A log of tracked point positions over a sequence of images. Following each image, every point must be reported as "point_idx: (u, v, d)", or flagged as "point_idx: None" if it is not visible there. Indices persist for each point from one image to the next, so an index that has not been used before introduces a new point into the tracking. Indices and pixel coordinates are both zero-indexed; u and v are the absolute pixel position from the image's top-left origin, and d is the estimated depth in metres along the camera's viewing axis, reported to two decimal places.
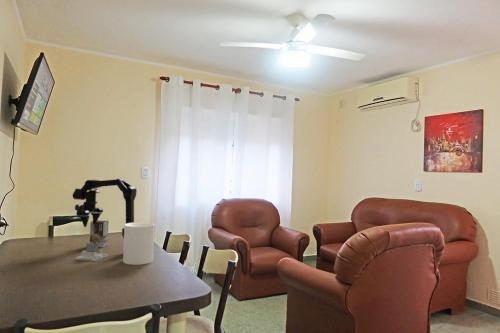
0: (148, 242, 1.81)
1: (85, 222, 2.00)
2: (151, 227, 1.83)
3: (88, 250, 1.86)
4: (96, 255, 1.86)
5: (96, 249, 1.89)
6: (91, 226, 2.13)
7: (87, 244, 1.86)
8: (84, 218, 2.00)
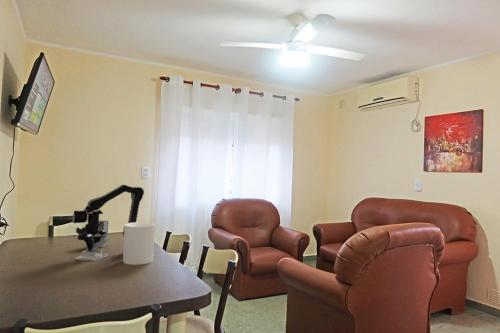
0: (148, 242, 1.81)
1: (90, 246, 1.85)
2: (151, 227, 1.83)
3: None
4: (96, 255, 1.86)
5: (96, 249, 1.89)
6: None
7: None
8: (89, 241, 1.85)
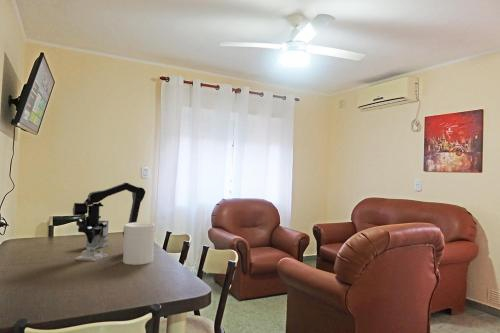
0: (148, 242, 1.81)
1: (90, 238, 1.85)
2: (151, 227, 1.83)
3: (88, 242, 1.86)
4: (96, 255, 1.86)
5: (96, 242, 1.89)
6: None
7: None
8: (89, 234, 1.85)
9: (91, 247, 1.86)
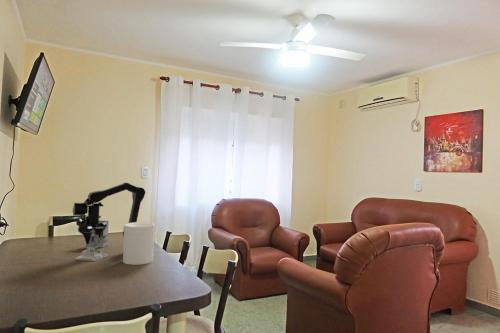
0: (148, 242, 1.81)
1: (88, 239, 1.83)
2: (151, 227, 1.83)
3: None
4: (96, 255, 1.86)
5: (96, 241, 1.89)
6: None
7: None
8: (86, 234, 1.83)
9: (91, 247, 1.86)
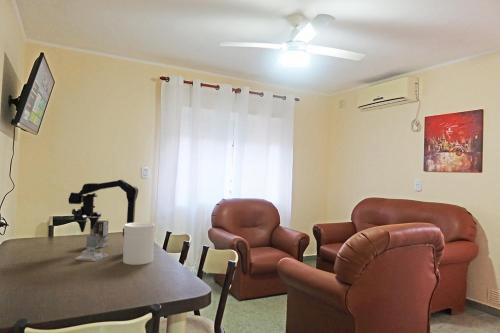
0: (148, 242, 1.81)
1: (82, 227, 1.94)
2: (151, 227, 1.83)
3: (88, 242, 1.86)
4: (96, 255, 1.86)
5: (96, 241, 1.89)
6: None
7: (87, 236, 1.86)
8: (81, 223, 1.94)
9: (91, 247, 1.86)
